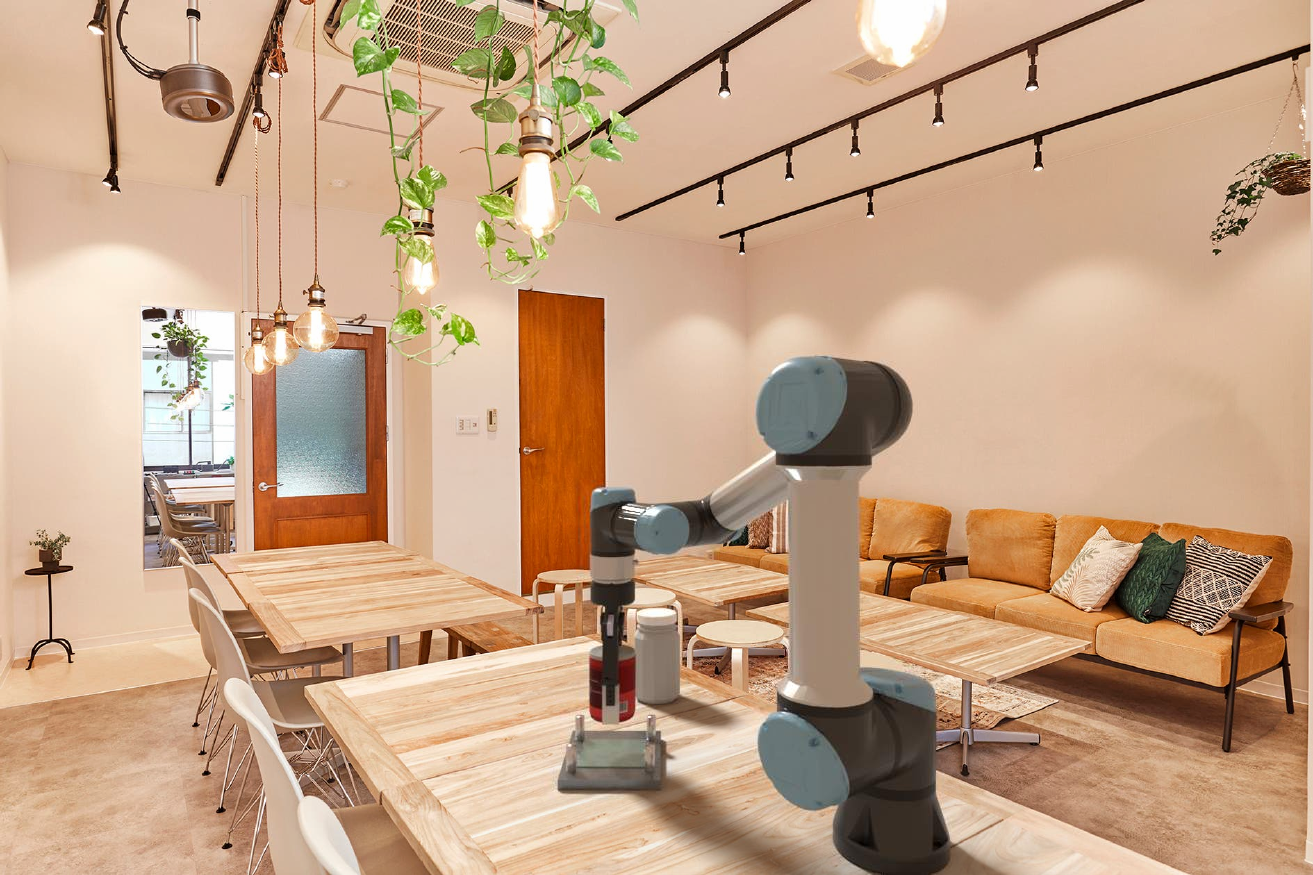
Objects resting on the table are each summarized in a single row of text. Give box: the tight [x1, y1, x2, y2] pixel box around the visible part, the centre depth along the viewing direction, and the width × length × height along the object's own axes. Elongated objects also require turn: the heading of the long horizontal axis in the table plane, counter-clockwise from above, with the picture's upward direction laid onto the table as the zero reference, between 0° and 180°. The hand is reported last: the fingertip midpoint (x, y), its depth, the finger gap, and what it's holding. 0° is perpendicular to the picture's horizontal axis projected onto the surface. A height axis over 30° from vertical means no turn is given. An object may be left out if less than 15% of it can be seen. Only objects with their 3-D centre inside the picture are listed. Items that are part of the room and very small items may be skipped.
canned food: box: [588, 644, 637, 724], centre depth 130 cm, size 8×8×11 cm
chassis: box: [557, 714, 662, 791], centre depth 130 cm, size 20×16×6 cm
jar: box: [633, 607, 681, 705], centre depth 162 cm, size 10×10×18 cm
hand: (612, 713), depth 130 cm, fingers closed on canned food, 8 cm apart
